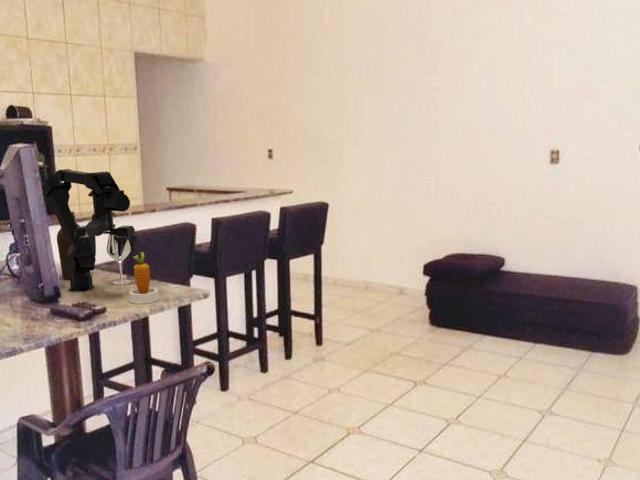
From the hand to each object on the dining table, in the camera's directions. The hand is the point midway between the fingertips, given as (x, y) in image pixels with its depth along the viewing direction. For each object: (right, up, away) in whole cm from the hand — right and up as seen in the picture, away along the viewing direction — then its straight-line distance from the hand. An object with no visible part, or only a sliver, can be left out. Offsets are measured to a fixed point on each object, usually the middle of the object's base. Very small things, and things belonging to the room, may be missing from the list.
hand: (107, 256), depth 206 cm
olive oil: (-22, -9, +29) cm, 37 cm away
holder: (+14, -14, -6) cm, 21 cm away
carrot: (+14, -14, -6) cm, 20 cm away
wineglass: (-1, -10, +19) cm, 21 cm away
